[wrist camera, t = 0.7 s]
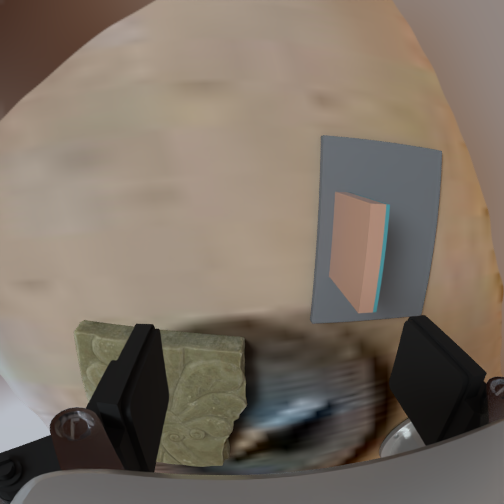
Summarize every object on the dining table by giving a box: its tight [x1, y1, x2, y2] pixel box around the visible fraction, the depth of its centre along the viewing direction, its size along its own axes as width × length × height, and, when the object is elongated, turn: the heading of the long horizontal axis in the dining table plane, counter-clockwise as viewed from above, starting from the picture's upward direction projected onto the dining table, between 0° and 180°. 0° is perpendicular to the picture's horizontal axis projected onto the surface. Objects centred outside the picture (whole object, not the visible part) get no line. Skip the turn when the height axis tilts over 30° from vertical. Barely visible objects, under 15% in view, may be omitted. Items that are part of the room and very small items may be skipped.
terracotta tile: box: [329, 192, 390, 313], centre depth 25 cm, size 8×2×8 cm, turn 179°
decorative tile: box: [74, 320, 247, 467], centre depth 33 cm, size 19×20×4 cm
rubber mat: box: [310, 135, 442, 323], centre depth 30 cm, size 18×13×1 cm
